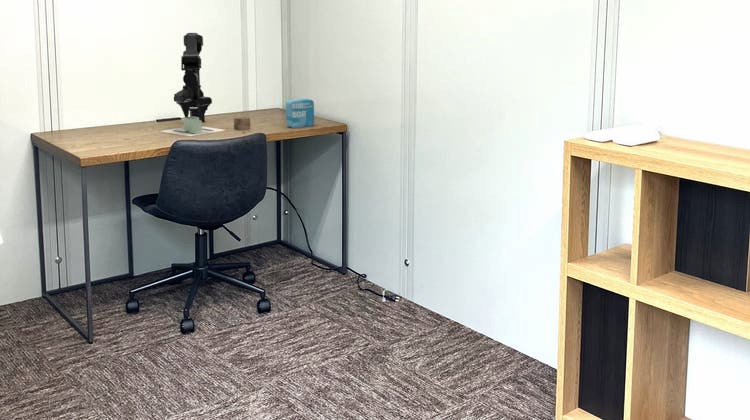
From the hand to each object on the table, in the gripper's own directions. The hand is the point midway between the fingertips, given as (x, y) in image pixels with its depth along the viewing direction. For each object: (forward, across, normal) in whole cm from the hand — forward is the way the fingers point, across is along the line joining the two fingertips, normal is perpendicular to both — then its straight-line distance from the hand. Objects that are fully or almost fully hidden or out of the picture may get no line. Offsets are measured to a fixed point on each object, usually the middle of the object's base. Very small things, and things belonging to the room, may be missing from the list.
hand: (193, 119), depth 396 cm
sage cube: (+5, 0, -1) cm, 5 cm away
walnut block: (+6, +14, +15) cm, 21 cm away
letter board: (+6, 0, -1) cm, 6 cm away
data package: (+6, +24, +41) cm, 48 cm away
